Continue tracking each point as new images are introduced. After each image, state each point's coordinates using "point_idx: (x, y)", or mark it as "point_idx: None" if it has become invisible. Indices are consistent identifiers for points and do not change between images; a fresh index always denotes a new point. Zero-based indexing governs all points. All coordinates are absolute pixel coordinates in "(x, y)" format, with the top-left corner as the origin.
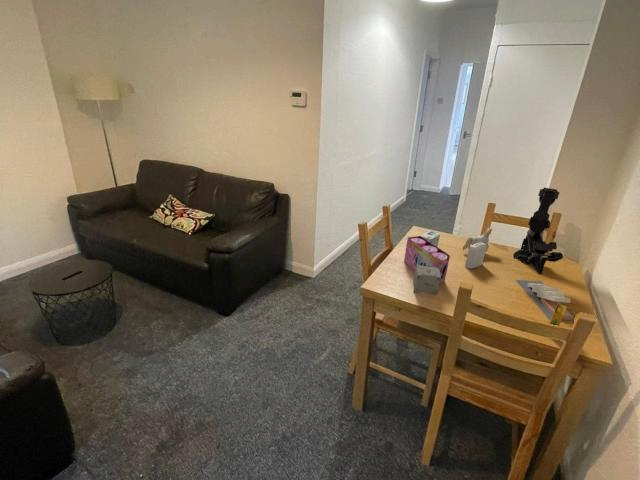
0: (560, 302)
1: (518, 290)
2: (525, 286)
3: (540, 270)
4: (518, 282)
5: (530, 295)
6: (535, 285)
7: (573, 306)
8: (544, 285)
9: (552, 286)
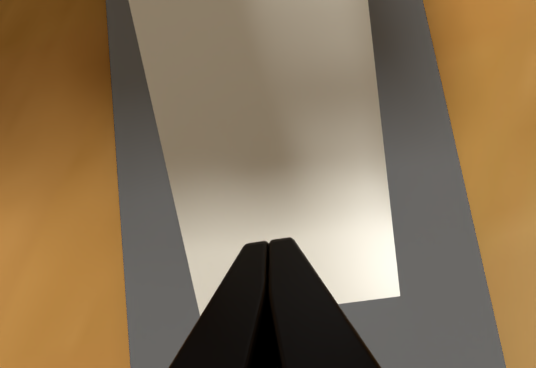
0: (125, 13)
1: (523, 150)
2: (416, 265)
3: (277, 288)
4: (493, 358)
5: (410, 50)
6: (374, 88)
7: (25, 5)
8: (237, 109)
9: (141, 57)
